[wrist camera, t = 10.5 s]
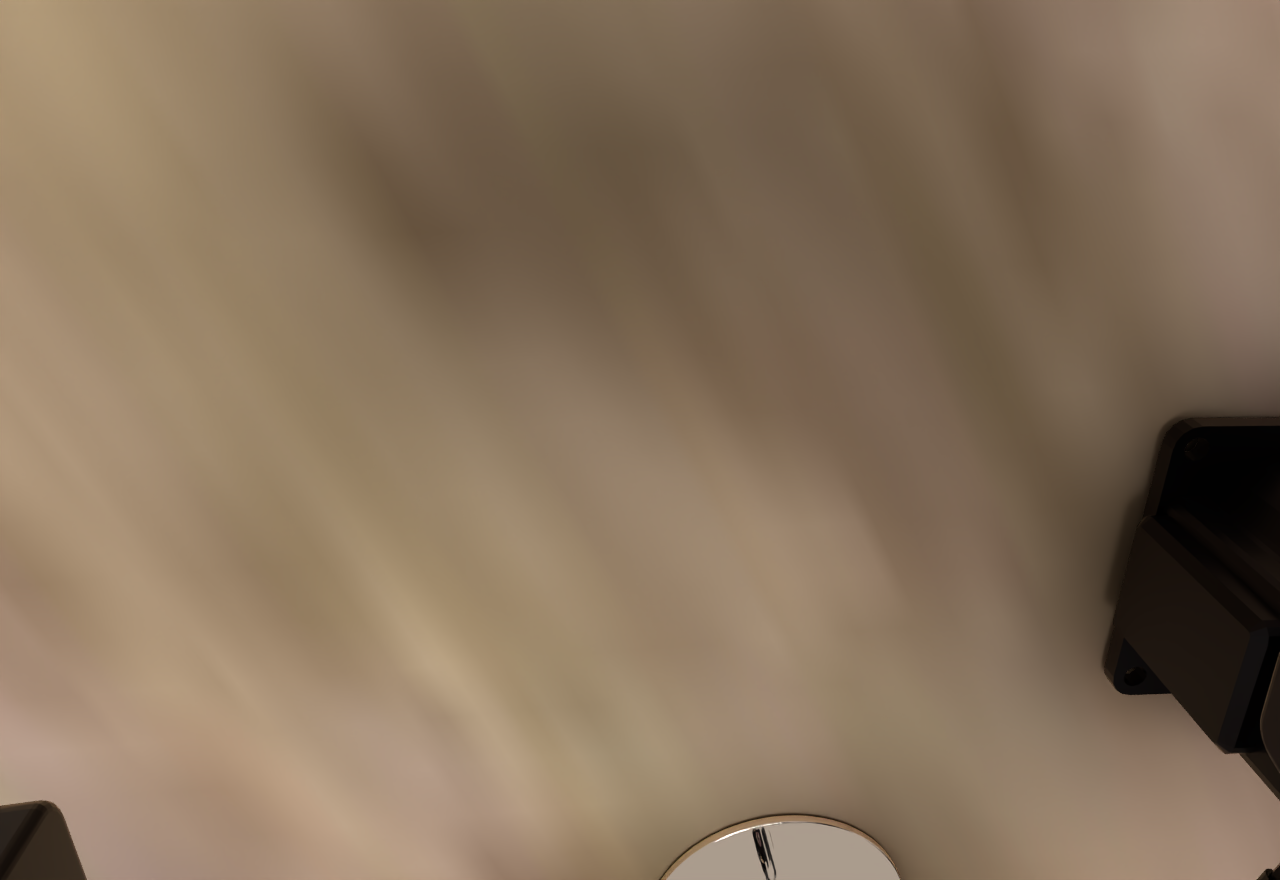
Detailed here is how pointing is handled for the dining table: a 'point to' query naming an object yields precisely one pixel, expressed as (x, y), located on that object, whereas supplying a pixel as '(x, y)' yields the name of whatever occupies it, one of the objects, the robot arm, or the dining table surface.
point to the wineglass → (786, 853)
